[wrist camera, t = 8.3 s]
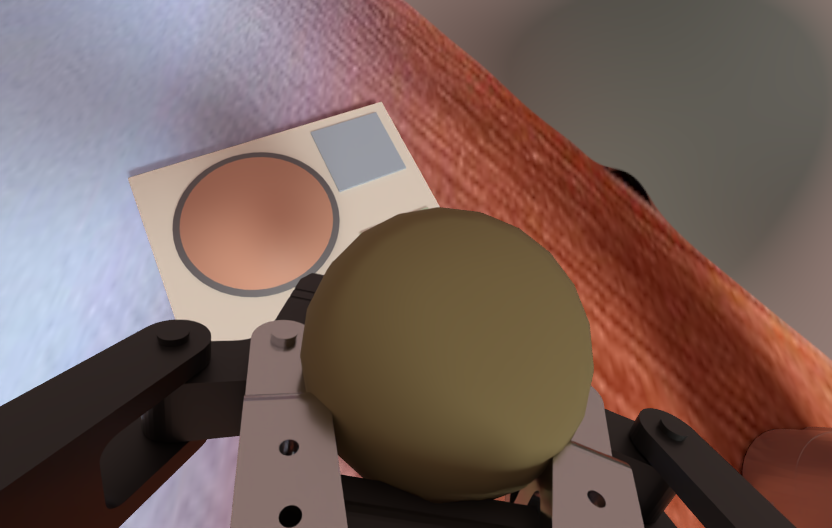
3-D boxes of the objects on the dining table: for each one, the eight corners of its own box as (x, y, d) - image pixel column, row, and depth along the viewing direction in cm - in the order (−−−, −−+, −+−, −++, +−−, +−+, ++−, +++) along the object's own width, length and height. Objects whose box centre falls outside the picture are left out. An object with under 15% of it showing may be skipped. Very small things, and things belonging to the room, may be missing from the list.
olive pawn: (479, 325, 17) (660, 204, 7) (455, 478, 15) (665, 619, 5) (342, 291, 17) (327, 113, 7) (297, 444, 15) (177, 520, 5)
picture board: (380, 109, 37) (381, 99, 36) (475, 281, 33) (479, 276, 31) (134, 184, 31) (126, 176, 30) (209, 404, 27) (203, 404, 26)
